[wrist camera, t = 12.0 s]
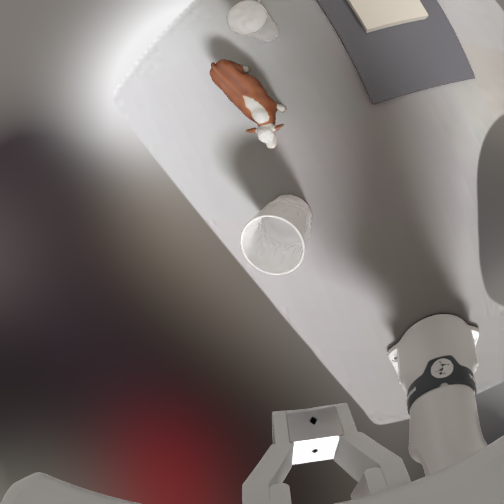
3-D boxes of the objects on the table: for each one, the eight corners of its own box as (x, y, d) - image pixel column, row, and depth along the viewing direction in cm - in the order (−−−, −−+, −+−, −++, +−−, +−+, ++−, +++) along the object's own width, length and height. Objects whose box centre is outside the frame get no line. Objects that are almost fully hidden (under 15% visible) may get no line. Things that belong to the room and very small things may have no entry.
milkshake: (294, 26, 29) (275, 2, 20) (268, 52, 32) (242, 37, 23) (269, 8, 28) (242, -16, 20) (244, 34, 31) (212, 17, 23)
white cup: (264, 187, 42) (239, 211, 33) (318, 193, 39) (307, 219, 31) (263, 236, 45) (241, 269, 37) (313, 243, 43) (301, 279, 35)
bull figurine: (278, 146, 38) (260, 156, 31) (222, 74, 35) (194, 69, 28) (304, 129, 36) (291, 135, 29) (246, 55, 33) (220, 45, 26)
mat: (473, 78, 23) (475, 78, 23) (372, 104, 31) (373, 104, 30) (396, -53, 16) (396, -54, 16) (297, -27, 24) (296, -29, 23)
